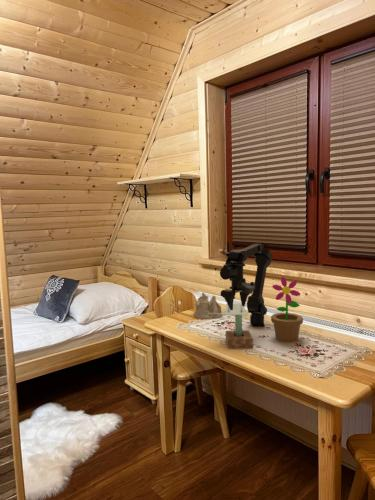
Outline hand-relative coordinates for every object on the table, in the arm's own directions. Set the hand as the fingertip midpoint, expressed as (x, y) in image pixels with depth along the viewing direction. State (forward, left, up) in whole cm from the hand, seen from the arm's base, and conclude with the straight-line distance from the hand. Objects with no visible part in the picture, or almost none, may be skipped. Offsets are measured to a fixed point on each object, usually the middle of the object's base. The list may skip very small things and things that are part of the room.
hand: (237, 308), depth 178 cm
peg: (+1, +12, -13) cm, 18 cm away
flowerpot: (-22, +7, -13) cm, 27 cm away
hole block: (+1, +12, -13) cm, 18 cm away
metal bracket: (-3, -38, -14) cm, 40 cm away
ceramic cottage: (+13, -33, -13) cm, 38 cm away
